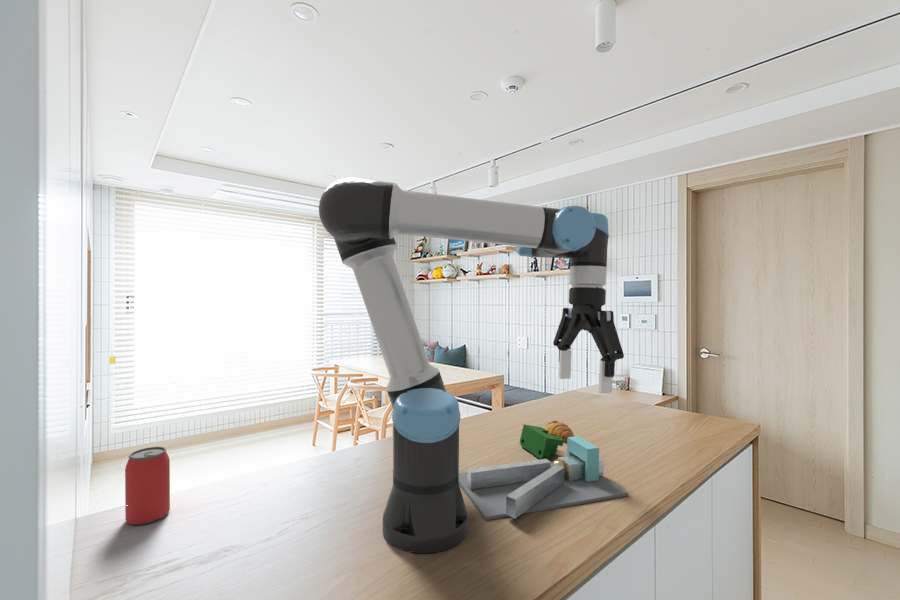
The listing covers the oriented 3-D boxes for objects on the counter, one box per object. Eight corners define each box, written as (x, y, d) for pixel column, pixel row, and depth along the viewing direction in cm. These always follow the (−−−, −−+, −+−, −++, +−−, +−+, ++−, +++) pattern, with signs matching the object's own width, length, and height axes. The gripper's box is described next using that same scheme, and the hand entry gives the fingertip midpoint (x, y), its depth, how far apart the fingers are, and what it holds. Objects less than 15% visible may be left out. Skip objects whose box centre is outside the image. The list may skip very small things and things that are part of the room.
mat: (485, 520, 76) (485, 517, 76) (453, 476, 93) (453, 474, 93) (628, 495, 85) (628, 492, 85) (575, 460, 103) (575, 458, 103)
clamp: (553, 473, 106) (569, 446, 103) (534, 470, 104) (549, 442, 101) (534, 440, 116) (548, 414, 114) (516, 437, 114) (530, 411, 111)
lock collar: (587, 482, 90) (587, 449, 89) (566, 467, 97) (567, 437, 97) (598, 480, 90) (599, 447, 90) (577, 466, 98) (578, 436, 98)
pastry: (580, 441, 116) (580, 428, 116) (559, 444, 114) (559, 431, 114) (561, 431, 125) (561, 418, 125) (541, 433, 123) (541, 420, 123)
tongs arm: (515, 518, 75) (515, 499, 75) (506, 514, 76) (506, 495, 76) (564, 483, 89) (564, 467, 89) (555, 480, 90) (556, 464, 90)
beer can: (135, 531, 71) (134, 462, 71) (119, 519, 75) (118, 454, 74) (176, 513, 77) (176, 450, 77) (159, 504, 80) (159, 442, 80)
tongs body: (474, 496, 83) (475, 477, 83) (467, 486, 88) (467, 468, 87) (603, 476, 93) (603, 460, 93) (591, 468, 97) (591, 452, 97)
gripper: (646, 287, 78) (641, 398, 79) (567, 287, 102) (563, 373, 102) (614, 286, 76) (610, 400, 76) (540, 286, 99) (537, 374, 100)
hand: (583, 385), depth 89 cm, fingers open, 13 cm apart
